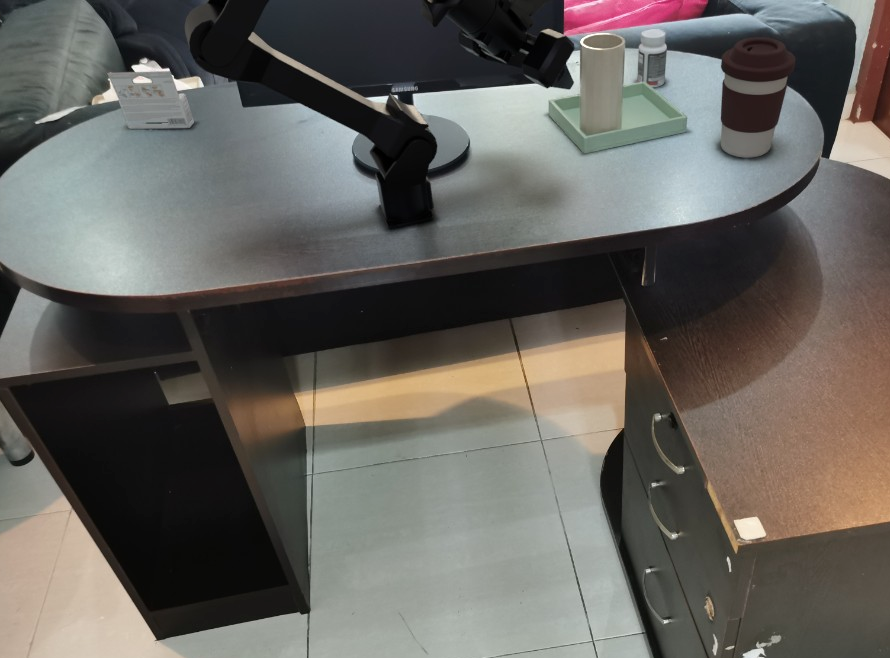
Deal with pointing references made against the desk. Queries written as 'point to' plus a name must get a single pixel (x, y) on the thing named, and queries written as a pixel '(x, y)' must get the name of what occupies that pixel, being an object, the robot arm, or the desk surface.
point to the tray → (640, 119)
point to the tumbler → (601, 83)
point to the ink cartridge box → (151, 100)
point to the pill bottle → (652, 57)
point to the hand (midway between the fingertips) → (549, 76)
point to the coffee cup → (753, 94)
